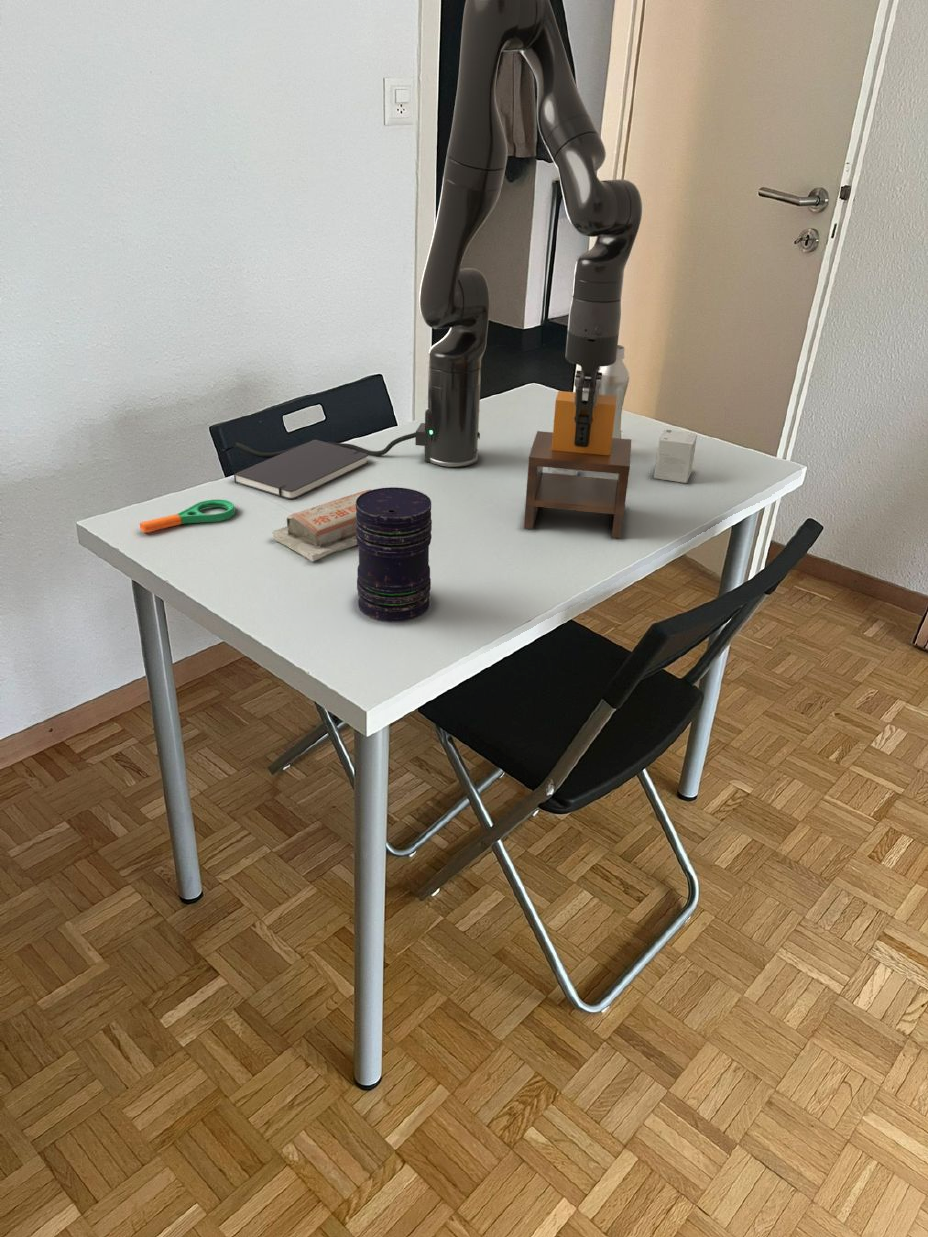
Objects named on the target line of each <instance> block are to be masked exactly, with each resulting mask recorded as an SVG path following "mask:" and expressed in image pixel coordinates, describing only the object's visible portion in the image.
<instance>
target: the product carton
mask: <svg viewBox="0 0 928 1237" xmlns="http://www.w3.org/2000/svg"><path fill="white" fill-rule="evenodd" d="M697 439H698V434H697V433H694V432H689V431H688V432H687V431H680V430H673V429H664V430H663V431H662V433H661V434H660V437H659V439H658V444H657V450H656V451H657V452H656V458H655V465H654V474H653V478H654V479H657V480H662V481H663V480H664V481H670V482H677V483H684V484H686V483H687V484H688V481H689V478H690V475H691V474H692V471H693V465H694V458H695V452H696V445H697Z"/></svg>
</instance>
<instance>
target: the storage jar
mask: <svg viewBox="0 0 928 1237" xmlns="http://www.w3.org/2000/svg"><path fill="white" fill-rule="evenodd" d="M369 490H370V491H367V492H365V493H363V494H361V495H360V496H359V497H358V498H357V500H356V510H357V511H356V532H357V533H356V539H357V544H358V566H357V571H356V572H357V578H356V589H357V596H358V599H357V600H358V601H357V605H358V610H359V611H360V612H361V613H362V614H363V615H364V616H366V617H368V618H370V619H372V620H375V621H379V622H386V623H402V622H408V621H412V620H415V619H418V618H420V617H422V616H423V615H425V614H426V613H427V612H428V610H429V609H430V602H431V601H430V594H431V588H432V587H431V585H432V580H431V567H430V564H429V563H430V562H429V559H430V558H429V557H430V556H429V555H430V545H431V541H432V530H433V529H432V528H433V527H432V526H433V520H432V500H431V498H430V497H429V496H428V495H427V494H425V493H424V492H421V491H420V490H416V489H412V488H407V487H394V486H393V487H392V486H391V487H380V488H375V489H374V488H373V489H369Z"/></svg>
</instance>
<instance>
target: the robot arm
mask: <svg viewBox="0 0 928 1237" xmlns="http://www.w3.org/2000/svg"><path fill="white" fill-rule="evenodd" d="M463 8H464V9H463V16H462V24H461V26H462V27H461V38H460V52H459V65H458V78H457V87H456V88H457V89H456V96H455V102H454V104H455V105H454V110H453V117H452V123H451V130H450V137H449V140H448V146H447V149H446V150H447V151H446V158H445V164H444V170H443V174H442V183H441V184H442V185H441V192H440V197H439V204H438V210H437V215H436V219H435V220H436V221H435V226H434V230H433V234H432V239H431V242H430V247H429V250H428V254H427V258H426V261H425V266H424V269H423V273H422V278H421V281H420V282H421V283H420V286H419V296H418V298H419V299H418V300H419V301H418V302H419V303H418V304H419V310H420V311H419V312H420V315H421V318H422V320H423V321H424V323H425V324H426V325H427V326H428V327H430V328H432V329H434V330H444V329H449V330H448V332H447V333H446V334H445V335H444V337H443V338H441V339H440V340H439V341H438V342H436V343H434V344H433V345H432V346H431V347H430V349H429V351H428V370H427V372H428V381H427V382H428V384H427V389H428V390H427V407H426V409H425V411H424V422H420V424H419V426H418V427H417V429H416V430H415V432H411V433H409V434H405V435H402V436H399V437H396V438H395V439H393V440H392V441H390V442H389V443H388V444H387V445H386V447H385V448H383V449H381V450H369V449H366V448H363V447H361V446H358V445H355V444H352V443H346V442H345V443H344V442H329V443H330V444H333V445H337V446H341V447H344V448H348V449H352V450H355V451H359V452H362V453H366V454H368V456H370V457H371V456H372V457H380V456H384V455H386V454H387V453H389V452H390V451H391V450H392V448H394V446H396V445H398V444H400V443H402V442H405V441H408V440H413V439H414V438H415V439H414V440H415V442H414V444H415V446H420V447H424V455H423V456H424V457H423V458H424V459H423V460H424V462H427V463H431V464H433V465H436V466H439V467H447V468H461V467H467V466H471V465H473V464H475V463H476V462H477V461H478V458H479V453H478V451H479V440H480V439H481V433H480V430H479V427H480V426H479V424H480V405H481V404H480V402H481V380H482V379H481V378H482V377H481V376H482V359H483V355H484V354H485V351H486V349H487V348H486V347H487V339H488V330H489V320H490V308H491V297H490V287H489V285H488V281H487V279H486V276H485V275H484V274H483V273H482V272H481V271H480V270H479V269H478V268H474V267H462V265H463V264H462V263H463V261H464V257H465V254H466V252H467V250H468V247H469V246H470V244H471V242H472V240H473V239H474V237H475V236H476V235H477V233H478V232H479V230H480V229H481V228H482V226H483V225H484V223H485V222H486V220H488V217H489V216H490V214H492V211H493V210H494V208H495V206H496V205H497V202H498V201H499V198H500V196H501V191H502V188H503V182H504V178H505V172H506V169H507V168H506V167H507V162H508V154H509V153H508V142H507V136H506V132H505V129H504V126H503V122H502V118H501V115H500V112H499V108H498V104H497V97H496V86H497V85H496V83H497V78H498V70H499V69H498V68H499V63H500V58H501V54H502V52H505V53H506V52H507V53H508V52H509V53H510V52H511V53H517V52H519V53H520V54H521V55H522V57H523V58H524V59H525V61H526V63H527V64H528V66H529V67H530V69H531V70H532V73H533V75H534V78H535V82H536V88H537V89H536V92H537V93H536V96H537V97H536V121H537V122H536V123H537V127H538V131H539V134H540V136H541V139H542V141H543V143H544V146H545V147H546V150H547V152H548V154H549V156H550V158H551V160H552V163H553V164H554V166H555V168H556V170H557V173H558V176H559V184H560V189H561V195H562V199H563V205H564V209H565V213H566V217H567V219H568V221H569V223H570V224H571V226H572V227H573V228H574V229H575V230H576V231H577V232H578V233H579V234H580V235H582V236H584V237H587V238H588V237H589V238H595V241H594V244H593V246H592V247H591V249H589V250H588V251H586V252H584V253H582V254H580V255H579V256H578V257H577V258H576V261H575V265H574V271H573V272H574V273H573V283H572V284H573V285H572V295H571V302H570V306H569V311H568V322H567V332H566V345H565V355H564V356H565V360H566V361H567V362H568V363H570V364H573V365H578V366H579V367H580V370H578V369H576V372H575V375H574V383H573V385H574V387H575V390H574V392H575V399H574V405H575V406H576V415H575V417H574V420H575V423H576V430H575V441H574V444H575V446H578V447H587V446H588V445H589V438H590V428H591V424H592V422H593V418H592V415H593V409H594V408H595V407H596V406H597V401H598V395H599V389H600V387H601V382H602V373H603V372H598V370H599V369H600V366H603V367H605V366H609V365H612V364H613V363H614V362H615V361H616V355H617V347H618V345H619V336H620V328H621V318H622V296H623V294H622V293H623V284H624V275H625V268H626V265H627V263H628V261H629V258H630V256H631V252H632V249H633V247H634V243H635V241H636V239H637V235H638V232H639V229H640V225H641V222H642V217H643V201H642V196H641V192H640V191H639V189H638V187H637V186H636V185H635V183H634V182H631V181H630V180H628V179H624V178H623V179H621V178H620V179H619V178H618V179H605V180H600V178H599V177H598V176H597V173H596V172H598V171H599V169H600V168H601V167H602V166H603V164H604V162H605V160H606V156H607V154H606V153H607V152H606V148H605V144H604V142H603V140H602V138H601V136H600V134H599V132H598V130H597V127H596V126H595V124H594V122H593V120H592V118H591V116H590V114H589V111H588V109H587V108H586V106H585V103H584V101H583V99H582V96H581V94H580V92H579V89H578V87H577V84H576V82H575V78H574V76H573V72H572V69H571V66H570V63H569V59H568V56H567V52H566V49H565V45H564V43H563V39H562V36H561V33H560V29H559V26H558V23H557V20H556V16H555V13H554V10H553V7H552V4H551V1H550V0H465V3H464V7H463ZM594 395H595V396H594ZM580 410H586V411H589V415H582V414H580ZM235 443H236V447H237V448H236V449H239V450H242V451H243V452H246V453H247V454H250V455H252V456H254V457H257V458H262V459H270V458H273V457H275V456H277V455H280V454H282V453H284V452H287V451H289V450H291V449H294V448H296V447H298V446H301V445H302V444H299V445H296V446H293V447H290V448H287V449H285V450H281V451H277V452H262V451H257V450H256V449H255V450H254V449H253V448H251V447H249V446H247V445H244V444H242V443H239V442H235ZM232 449H235V448H234V447H228V448H226V449H223V448H222V449H221V451H222V452H228V451H230V450H232Z"/></svg>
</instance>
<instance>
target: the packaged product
mask: <svg viewBox="0 0 928 1237" xmlns="http://www.w3.org/2000/svg"><path fill="white" fill-rule="evenodd" d="M370 490H371V489H367V490H362V491H359V492H356V493H354V494H350V495H346V496H344V497H340V498H338V499H335V500H331V501H329V502H328V501H327V502H326V503H323V504H319V505H316V506H313V507H311V508H307V509H304V510H302V511H298V512H295V513H292V514H290V515H288V516H287V518H286V526H285V527H281V528H279V529H274V530H273V531H272V536H273V539H274V541H276V542H277V543H280V544H281V545H282V546H285V547H287V548H288V549H290V550H293V551H295V552H296V553H298V554H300V555H301V556H303V557H305V558H306V559H307V560H309V561H310V562H313V563H314V562H315V561H317V560H319V559H321V558H324V557H326V556H327V555H330V554H331V553H332V554H333V553H335V552H340V551H343V550H345V549H349V548H351V547H355V546H357V545H358V544H357V539H356V533H357V532H356V511H357V510H356V500H357V498H358V497H359V496H360V495H361V494H363V493H365V492H367V491H370Z"/></svg>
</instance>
